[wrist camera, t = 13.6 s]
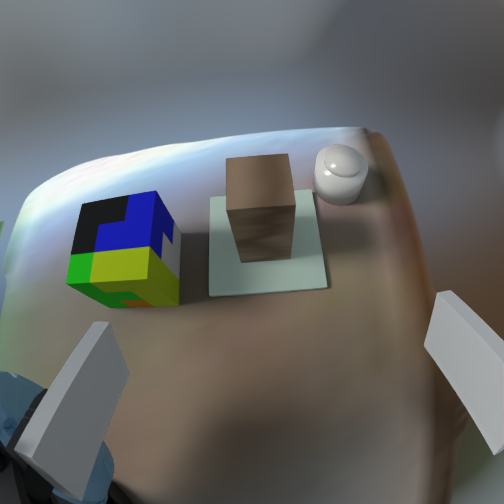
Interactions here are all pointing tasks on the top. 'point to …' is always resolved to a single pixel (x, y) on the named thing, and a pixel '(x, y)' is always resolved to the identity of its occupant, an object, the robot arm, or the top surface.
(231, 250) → the pad
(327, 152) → the sugar bowl
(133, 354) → the top surface
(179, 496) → the top surface
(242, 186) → the walnut block
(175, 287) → the puzzle toy
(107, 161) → the top surface
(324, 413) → the top surface
